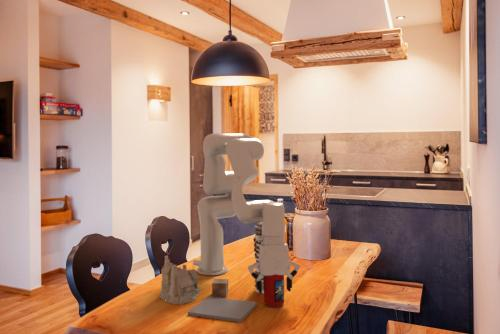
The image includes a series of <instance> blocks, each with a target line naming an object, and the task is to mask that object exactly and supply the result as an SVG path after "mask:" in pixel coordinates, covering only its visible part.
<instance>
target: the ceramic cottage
mask: <svg viewBox="0 0 500 334" xmlns="http://www.w3.org/2000/svg"><path fill="white" fill-rule="evenodd" d="M160 273H161V277H162V279H161V289H160V293H159V299H160V298H161V299H160V300H162V299H163V300H162V301H164V300H166V301H167V302H166V301H165V302H166V303H168V302H169V303H168V304H170V303H172V304H183V305H185V304H184V303H188V302H190V303H192V302H194V300H195V301H196V300H197V298H198V297H199V295H200V294H199V293H202V290H201V288H200V287H199V280H198V279H199V276H198V272H197V271H196V269H195V268H193V269H187V265H186V264H183V265H182V268H181V267H178V266H177V264H174V263H172V262H171V261H170V258H169V255H164V264H163V265H162V267H161V271H160ZM197 296H198V297H197ZM191 301H192V302H191ZM172 304H171V305H172ZM188 304H189V303H188Z"/></svg>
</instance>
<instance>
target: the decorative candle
mask: <svg viewBox="0 0 500 334" xmlns="http://www.w3.org/2000/svg"><path fill="white" fill-rule="evenodd" d="M254 228H255V235H254V238H253V242H254V243H253V247H254V248H253V251H254V252H255V253H254V259H255V263H256V262H258V261H259V250H260V244H262V242H260V241H258V237H261V236H262V222H257V223H256V225H255V226H254ZM254 273H255V274H258V273H259V268H258V267H257V268H255V271H254ZM261 281H262V293H261V294H263V295H264V276H263V277H262V278H261ZM254 287H255V289H254V291H255V292H256V293H258V294H260V293H259V291H258V290H257V282H256V279H255V278H254Z"/></svg>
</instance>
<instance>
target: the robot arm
mask: <svg viewBox="0 0 500 334" xmlns="http://www.w3.org/2000/svg"><path fill="white" fill-rule="evenodd" d="M202 152H203V156H204V167H203V179H202V182H203V184H202V188H203V191H204V192H205V194H207V195H213V196H206V197H203V198H201V199H200V200H199V201H198V202H197V206H196V208H197V213H198V218H199V231H200V232H199V234H200V260H199V259H194V260H192V265H193V266H195V267H196V266H197V267H198V268H197V271H196V273H197V274H199V275H202V276H203V275H204V276H219V275H223V274H226V273H227V272H228V267H227V266H226V265H225V264H224V256H225V255H224V229H223V226H222V224H221V223H220V222H219V219H220V220H221V219H225V218H233V217H236V218H237V219H238V221H239V222H241V223H243V224H246V225H247V224H256V223H258V222H262V236H261V237H258V241H260V242H262V244H260V250H259V261H258V262H256V261H255V263H253V264H251V265H250V266H248V267H247V270H248V272H249V273H250V275H251V277H252V278H254V280H255V279H256V282H257V290H258V291H259V293H258V294H263V293H262V281H261V278H262V277H263V276H271V275H274V274H277V275H284V276H286V290H287V291H288V292H291V291H292V288H293V279H294V278H295V276H296V275H297V274H298V271H299V270H300V268H301V267H300V264H299V263H297V262H295V261H293V260H291V259H290V258H291V257H290V251H289V250H290V249H289V246H288V245H289V244H288V243H286V233H285V229H286V226H285V225H286V222H285V221H286V220H285V218H286V217H285V215H286V214H285V205H284V204H283V203H282V202H277V201H274V200H271V199H256V200H254V199H253V200H246V198H245V196H244V193H243V189H244V187H245V186H247V185H248V184H250V183H252V182H254V181H255V180H256V179H257V178H258V177H259V169H258V167H257V165H256V162H255V161H259V160H261V159H262V158H263V157H264V154H265V148H264V145H263V143H262V141H261V140H260V139H259V138H258V137H255V136H251V135H249V134H246V133H237V132H233V133H232V132H231V133H229V132H219V133H217V132H216V133H210V134H208V135H206V136H205V137H204V139H203V143H202ZM225 155H227V158H228V160H229V163H230V166H231V168H232V170H226V159H225V157H224V156H225ZM223 194H224V195H223ZM291 266H292V267H293V270H292V271H291ZM257 267H258V268H259V273H258V274H255V271H254V270H256V268H257Z"/></svg>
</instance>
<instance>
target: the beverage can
mask: <svg viewBox="0 0 500 334" xmlns="http://www.w3.org/2000/svg"><path fill="white" fill-rule="evenodd" d="M263 303H264V304H265V305H267V307H272V308H278V307H281V306H282V305H283V304H284V303H285V275H277V274H274V275H271V276H264V294H263Z"/></svg>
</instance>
